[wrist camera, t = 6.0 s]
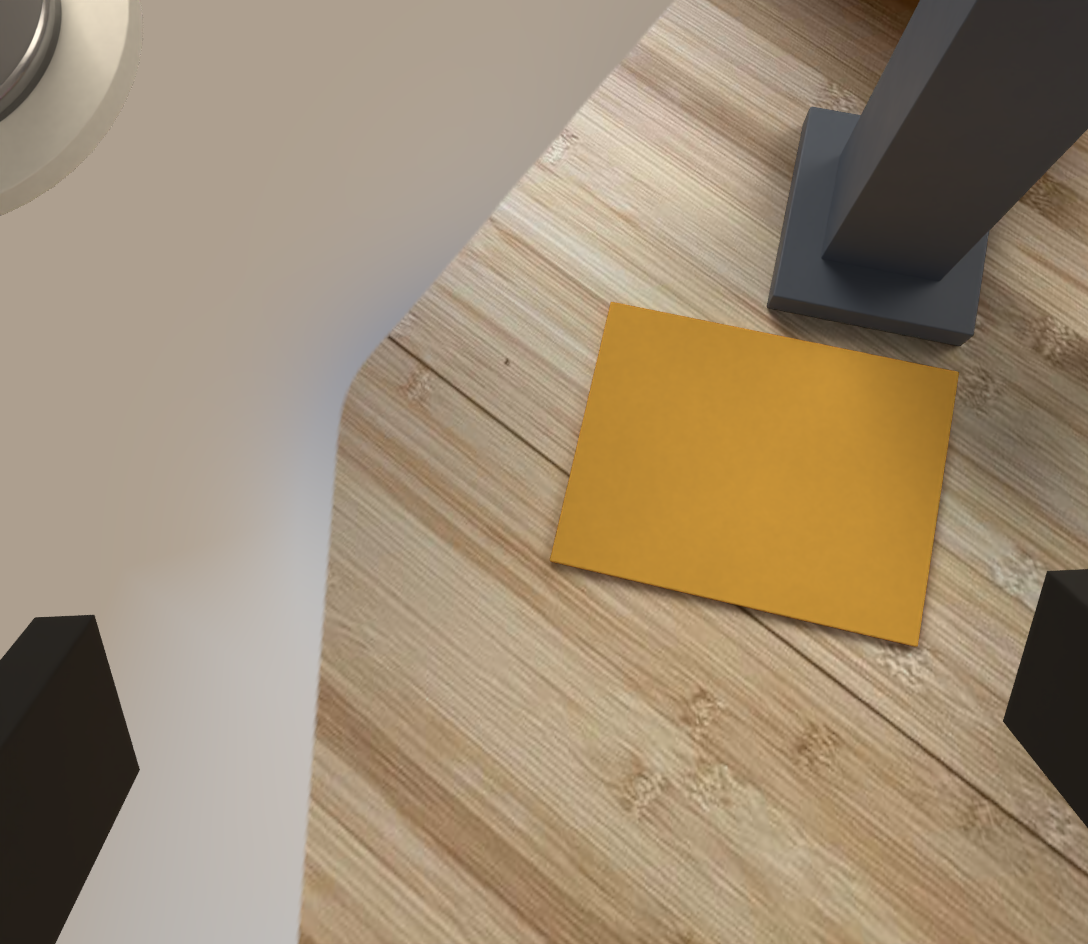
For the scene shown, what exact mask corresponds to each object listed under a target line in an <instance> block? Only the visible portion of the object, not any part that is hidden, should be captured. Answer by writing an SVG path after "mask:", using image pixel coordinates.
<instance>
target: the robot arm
mask: <svg viewBox="0 0 1088 944" xmlns="http://www.w3.org/2000/svg"><path fill="white" fill-rule="evenodd" d="M61 17H62V8H61V0H0V122H1V121H2V120H3V119H5V118H6V117H7V116H9V115H10V114H11V113H12V112H13V111H14V110H15V109H17V108H18V107H19V106H20V105H21V104H22V103H23V101H24V100H25V99H26V98H27V97H28V96H29V95H30V94H31V92H32V91H33V90H34V89H35V87H36V86H37V84H38V83H39V81H40V80H41V79H42V77H43V75H44V73H45V72H46V70H47V68H48V66H49V64H50V62H51V60H52V57H53V55H54V52H55V49H56V46H57V43H58V39H59V34H60V28H61ZM1003 722H1004V723H1005V725H1006V726H1007V727H1008V728H1009V730H1010V731H1011V732H1012V733H1013V735H1014V736H1015V737H1016V738H1017V740H1018V741H1019V742H1020V744H1021V745H1022V746H1023V747H1024V749H1025V750H1026V751H1027V752H1028V754H1029V755H1030V756H1031V757H1032V759H1033V760H1034V761H1035V762H1036V764H1037V765H1038V766H1039V767H1040V769H1041V770H1042V771H1043V772H1044V774H1045V775H1046V776H1047V777H1048V779H1049V780H1050V781H1051V782H1052V784H1053V785H1054V786H1055V788H1056V789H1057V790H1058V791H1059V793H1060V794H1061V795H1062V796H1063V798H1064V799H1065V800H1066V801H1067V803H1068V804H1069V805H1070V806H1071V808H1072V809H1073V810H1074V811H1075V813H1076V814H1077V815H1078V816H1079V818H1080V819H1081V820H1082V821H1083V823H1084V824H1085V825H1086V826H1087V828H1088V569H1082V570H1060V571H1047V574H1046V577H1045V580H1044V584H1043V587H1042V590H1041V594H1040V597H1039V601H1038V604H1037V607H1036V611H1035V614H1034V618H1033V621H1032V624H1031V628H1030V631H1029V635H1028V638H1027V641H1026V645H1025V648H1024V652H1023V655H1022V658H1021V662H1020V665H1019V669H1018V672H1017V675H1016V679H1015V682H1014V685H1013V689H1012V692H1011V696H1010V699H1009V702H1008V706H1007V709H1006V713H1005V716H1004V719H1003ZM139 770H140V769H139V766H138V762H137V759H136V755H135V752H134V749H133V745H132V742H131V738H130V735H129V732H128V728H127V725H126V721H125V718H124V715H123V711H122V708H121V704H120V701H119V698H118V694H117V691H116V687H115V684H114V680H113V677H112V674H111V670H110V667H109V663H108V660H107V656H106V653H105V650H104V646H103V643H102V639H101V636H100V633H99V629H98V626H97V622H96V619H95V616H94V615H81V616H59V617H36V618H34V619H33V620H32V622H31V623H30V624H29V625H28V627H27V628H26V629H25V630H24V632H23V633H22V634H21V635H20V637H19V638H18V639H17V640H16V642H15V643H14V644H13V645H12V646H11V648H10V649H9V650H8V651H7V653H6V654H5V655H4V656H3V658H2V659H1V660H0V944H55V943H56V941H57V939H58V937H59V935H60V933H61V931H62V928H63V927H64V924H65V922H66V920H67V918H68V916H69V914H70V912H71V910H72V908H73V906H74V904H75V902H76V900H77V898H78V896H79V894H80V891H81V890H82V887H83V885H84V883H85V881H86V879H87V877H88V875H89V873H90V871H91V869H92V867H93V865H94V863H95V861H96V859H97V857H98V854H99V852H100V850H101V848H102V846H103V844H104V842H105V840H106V838H107V836H108V834H109V832H110V830H111V828H112V826H113V824H114V821H115V819H116V817H117V815H118V813H119V811H120V809H121V807H122V805H123V803H124V801H125V799H126V797H127V795H128V793H129V791H130V789H131V787H132V784H133V783H134V780H135V778H136V776H137V774H138V772H139Z"/></svg>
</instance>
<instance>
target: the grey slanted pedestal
mask: <svg viewBox="0 0 1088 944" xmlns="http://www.w3.org/2000/svg"><path fill="white" fill-rule="evenodd" d="M1087 129H1088V0H920V2H919V4H918V6H917V8H916V10H915V12H914V14H913V15H912V17H911V19H910V21H909V23H908V25H907V27H906V29H905V31H904V33H903V35H902V37H901V39H900V41H899V43H898V45H897V46H896V48H895V50H894V52H893V54H892V56H891V58H890V60H889V62H888V64H887V66H886V68H885V70H884V72H883V74H882V76H881V77H880V79H879V81H878V83H877V85H876V87H875V89H874V91H873V93H872V95H871V97H870V99H869V101H868V103H867V105H866V107H865V108H864V110H863V112H862V114H861V115H856V114H851V113H845V112H839V111H834V110H828V109H822V108H817V107H810V109H809V111H808V113H807V116H806V118H805V121H804V123H803V127H802V132H801V137H800V142H799V147H798V152H797V157H796V162H795V167H794V172H793V177H792V182H791V187H790V192H789V197H788V202H787V207H786V212H785V217H784V222H783V227H782V232H781V237H780V242H779V247H778V252H777V258H776V263H775V268H774V273H773V278H772V283H771V288H770V293H769V298H768V303H767V308H771V309H776V310H781V311H786V312H791V313H796V314H801V315H806V316H811V317H816V318H821V319H827V320H832V321H837V322H842V323H847V324H852V325H857V326H862V327H867V328H872V329H877V330H882V331H887V332H892V333H897V334H902V335H907V336H912V337H917V338H922V339H927V340H932V341H937V342H942V343H947V344H952V345H957V346H961V345H962V344H963V343H965V342H966V341H967V340H968V339H970V338H971V337H972V336H973V335H974V329H975V322H976V316H977V309H978V302H979V295H980V289H981V282H982V275H983V269H984V262H985V255H986V248H987V242H988V235H989V230H990V229H991V228H992V227H993V226H994V225H995V224H996V223H997V222H998V221H999V220H1000V219H1001V218H1002V217H1003V216H1004V215H1005V214H1006V213H1007V212H1008V211H1009V210H1010V209H1011V208H1012V206H1013V205H1014V204H1015V203H1016V202H1017V201H1018V200H1019V199H1020V198H1021V197H1022V196H1023V195H1024V194H1025V193H1026V192H1027V191H1028V190H1029V189H1030V188H1031V187H1032V186H1033V185H1034V184H1035V183H1036V182H1037V181H1038V180H1039V179H1040V178H1041V177H1042V176H1043V175H1044V173H1045V172H1046V171H1047V170H1048V169H1049V168H1050V167H1051V166H1052V165H1053V164H1054V163H1055V162H1056V161H1057V160H1058V159H1059V158H1060V157H1061V156H1062V155H1063V154H1064V153H1065V152H1066V151H1067V150H1068V149H1069V148H1070V147H1071V146H1072V145H1073V144H1074V143H1075V142H1076V140H1077V139H1078V138H1079V137H1080V136H1081V135H1082V134H1083V133H1084V132H1085V131H1086V130H1087Z"/></svg>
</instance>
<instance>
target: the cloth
mask: <svg viewBox="0 0 1088 944" xmlns="http://www.w3.org/2000/svg"><path fill="white" fill-rule="evenodd" d="M958 376H959V372H957V371H952V370H947V369H942V368H937V367H932V366H927V365H922V364H917V363H912V362H907V361H902V360H897V359H892V358H887V357H882V356H877V355H872V354H867V353H863V352H858V351H853V350H848V349H843V348H838V347H833V346H828V345H823V344H818V343H813V342H808V341H803V340H798V339H793V338H788V337H783V336H778V335H773V334H769V333H764V332H759V331H754V330H749V329H744V328H739V327H734V326H729V325H724V324H719V323H714V322H709V321H704V320H699V319H694V318H689V317H684V316H679V315H675V314H670V313H665V312H660V311H655V310H650V309H645V308H640V307H635V306H630V305H625V304H620V303H615V302H611V303H610V308H609V312H608V316H607V320H606V324H605V329H604V333H603V337H602V341H601V346H600V350H599V354H598V358H597V363H596V367H595V371H594V375H593V379H592V384H591V388H590V392H589V396H588V401H587V405H586V409H585V413H584V418H583V422H582V426H581V430H580V434H579V439H578V443H577V447H576V451H575V456H574V460H573V464H572V468H571V473H570V477H569V481H568V485H567V489H566V494H565V498H564V502H563V506H562V511H561V515H560V519H559V523H558V528H557V532H556V536H555V540H554V545H553V549H552V553H551V557H550V561H551V562H555V563H559V564H563V565H567V566H572V567H576V568H580V569H585V570H589V571H593V572H597V573H602V574H606V575H610V576H614V577H619V578H623V579H627V580H632V581H636V582H640V583H644V584H649V585H653V586H657V587H661V588H666V589H670V590H674V591H679V592H683V593H687V594H691V595H696V596H700V597H704V598H709V599H713V600H717V601H721V602H726V603H730V604H734V605H738V606H743V607H747V608H751V609H756V610H760V611H764V612H768V613H773V614H777V615H781V616H786V617H790V618H794V619H798V620H803V621H807V622H811V623H815V624H820V625H824V626H828V627H833V628H837V629H841V630H845V631H850V632H854V633H858V634H863V635H867V636H871V637H875V638H880V639H884V640H888V641H892V642H897V643H901V644H905V645H910V646H914V647H917V646H918V640H919V634H920V627H921V621H922V614H923V607H924V601H925V594H926V587H927V581H928V574H929V568H930V561H931V554H932V548H933V541H934V535H935V528H936V521H937V515H938V508H939V501H940V495H941V488H942V482H943V475H944V468H945V462H946V455H947V449H948V442H949V435H950V429H951V422H952V416H953V409H954V402H955V396H956V389H957V382H958Z"/></svg>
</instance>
